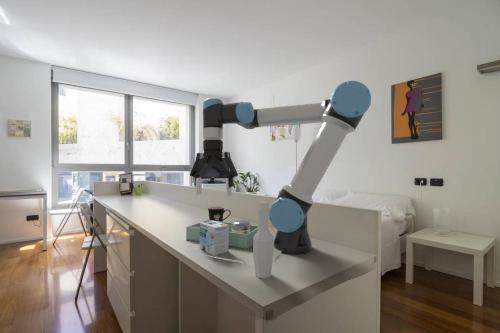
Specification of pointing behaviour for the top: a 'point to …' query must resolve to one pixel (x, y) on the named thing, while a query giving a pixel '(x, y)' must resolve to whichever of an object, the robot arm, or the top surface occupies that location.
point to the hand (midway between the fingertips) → (213, 195)
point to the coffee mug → (217, 213)
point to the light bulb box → (214, 237)
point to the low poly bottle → (263, 244)
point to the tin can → (240, 226)
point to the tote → (234, 238)
